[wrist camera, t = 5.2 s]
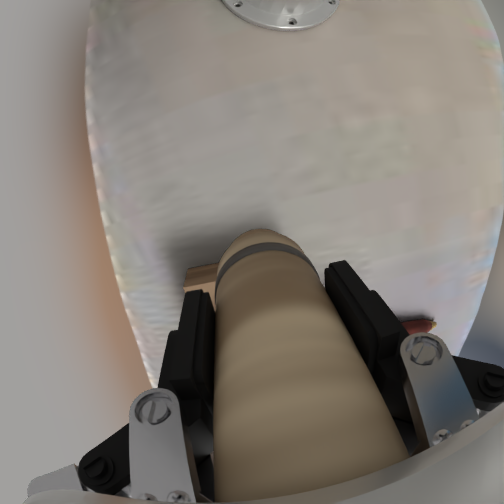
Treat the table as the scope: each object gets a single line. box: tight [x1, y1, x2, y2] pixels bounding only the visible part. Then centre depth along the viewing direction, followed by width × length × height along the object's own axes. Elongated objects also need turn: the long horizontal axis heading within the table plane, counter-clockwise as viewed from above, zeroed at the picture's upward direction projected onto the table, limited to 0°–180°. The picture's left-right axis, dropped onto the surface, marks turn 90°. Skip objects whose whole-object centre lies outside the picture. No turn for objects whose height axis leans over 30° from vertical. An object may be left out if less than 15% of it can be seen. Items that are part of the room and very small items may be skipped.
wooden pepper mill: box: [213, 229, 410, 503], centre depth 8 cm, size 4×4×12 cm
